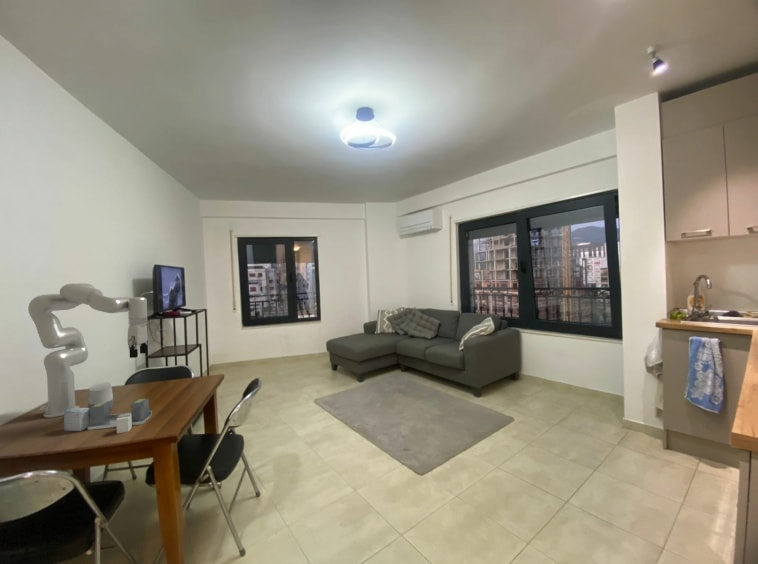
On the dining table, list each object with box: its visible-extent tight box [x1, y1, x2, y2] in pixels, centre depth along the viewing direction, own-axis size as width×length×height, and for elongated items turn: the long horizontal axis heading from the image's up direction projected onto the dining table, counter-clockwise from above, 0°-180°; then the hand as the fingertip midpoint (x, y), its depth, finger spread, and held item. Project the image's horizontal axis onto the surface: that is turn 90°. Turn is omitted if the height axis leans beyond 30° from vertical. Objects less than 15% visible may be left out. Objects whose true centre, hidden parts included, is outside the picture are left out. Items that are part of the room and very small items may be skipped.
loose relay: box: [116, 414, 133, 434], centre depth 135 cm, size 4×5×6 cm
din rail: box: [87, 398, 153, 431], centre depth 143 cm, size 21×9×10 cm, turn 101°
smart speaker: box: [87, 381, 114, 413], centre depth 156 cm, size 10×9×14 cm
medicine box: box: [63, 407, 91, 432], centre depth 138 cm, size 8×4×9 cm, turn 84°
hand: (138, 355), depth 158 cm, fingers open, 9 cm apart
